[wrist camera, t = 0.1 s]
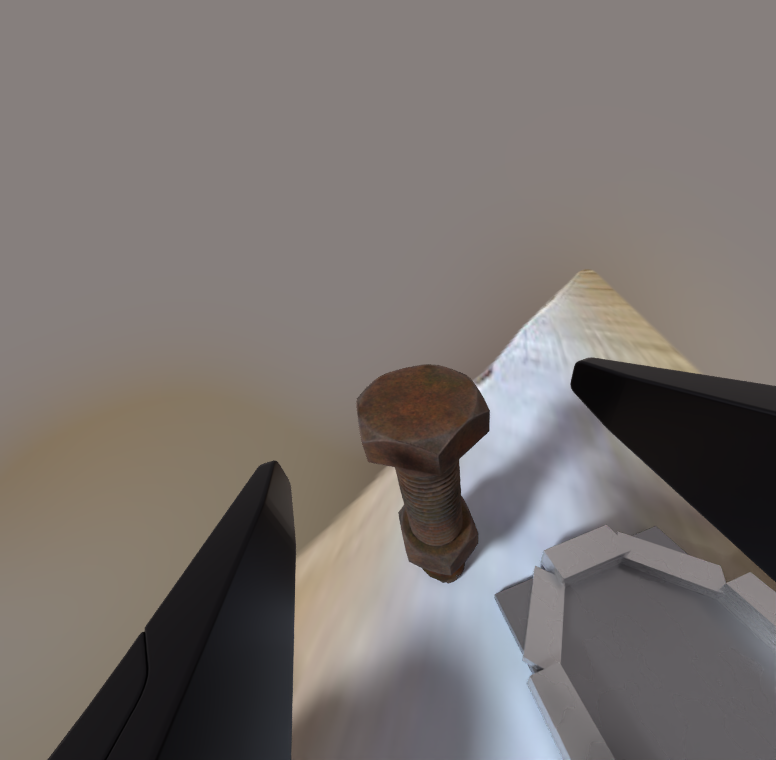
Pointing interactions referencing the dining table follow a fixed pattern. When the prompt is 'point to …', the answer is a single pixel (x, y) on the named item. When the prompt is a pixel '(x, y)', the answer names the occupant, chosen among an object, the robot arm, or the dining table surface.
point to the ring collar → (647, 651)
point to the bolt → (427, 457)
